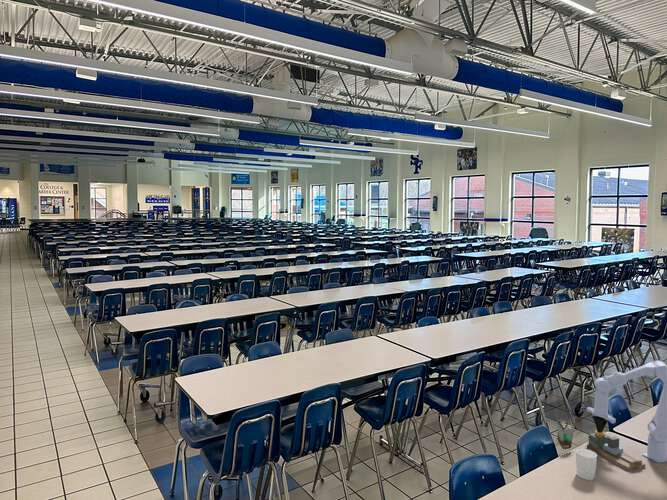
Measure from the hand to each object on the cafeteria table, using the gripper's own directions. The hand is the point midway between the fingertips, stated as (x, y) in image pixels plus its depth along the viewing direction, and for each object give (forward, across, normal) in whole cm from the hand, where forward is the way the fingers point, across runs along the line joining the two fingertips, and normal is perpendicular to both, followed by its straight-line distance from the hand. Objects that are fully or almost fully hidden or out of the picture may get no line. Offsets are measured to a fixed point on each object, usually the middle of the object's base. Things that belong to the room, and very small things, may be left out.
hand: (599, 431), depth 226 cm
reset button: (+5, 0, 0) cm, 5 cm away
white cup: (+8, +18, -26) cm, 32 cm away
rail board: (+8, +8, 0) cm, 12 cm away
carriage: (+6, +8, 0) cm, 10 cm away
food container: (+8, -8, -12) cm, 16 cm away
